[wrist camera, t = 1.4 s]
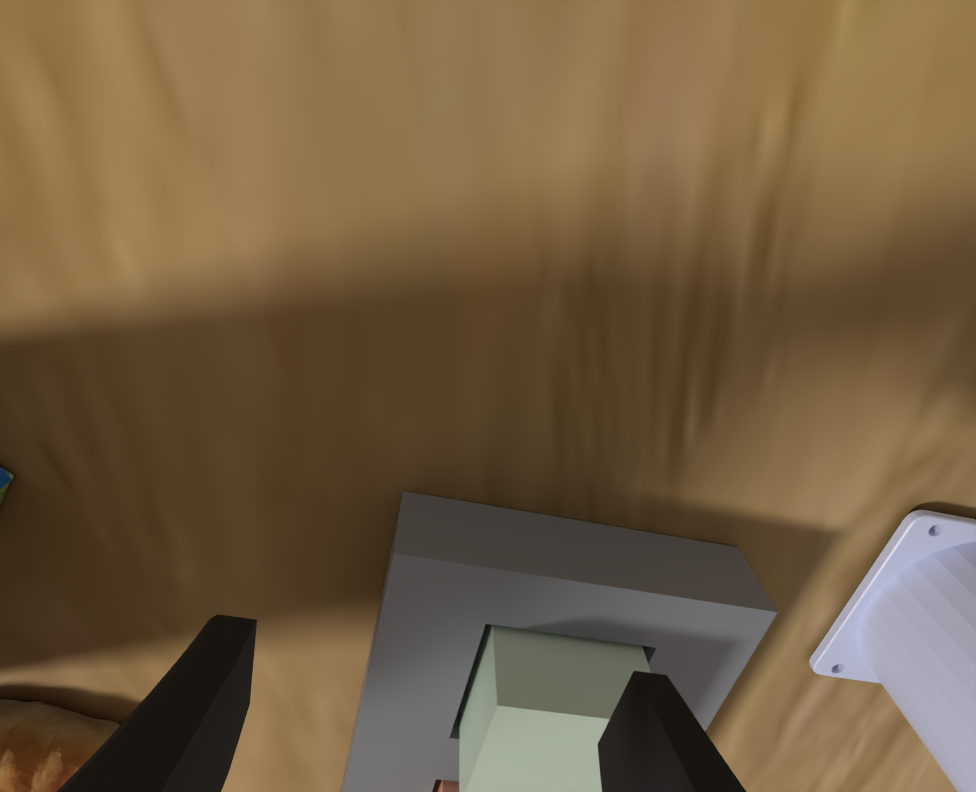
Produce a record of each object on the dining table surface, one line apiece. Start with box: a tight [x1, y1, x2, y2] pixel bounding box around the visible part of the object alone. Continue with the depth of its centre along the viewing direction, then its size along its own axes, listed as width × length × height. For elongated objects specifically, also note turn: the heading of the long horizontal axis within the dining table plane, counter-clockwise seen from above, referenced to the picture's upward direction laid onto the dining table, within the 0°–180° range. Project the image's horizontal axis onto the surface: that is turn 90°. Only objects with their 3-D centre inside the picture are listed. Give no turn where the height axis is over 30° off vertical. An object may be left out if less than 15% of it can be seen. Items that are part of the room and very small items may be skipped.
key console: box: [341, 491, 778, 792], centre depth 25 cm, size 12×26×3 cm, turn 167°
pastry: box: [0, 699, 120, 792], centre depth 23 cm, size 9×7×4 cm
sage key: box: [459, 624, 651, 792], centre depth 20 cm, size 5×5×4 cm
